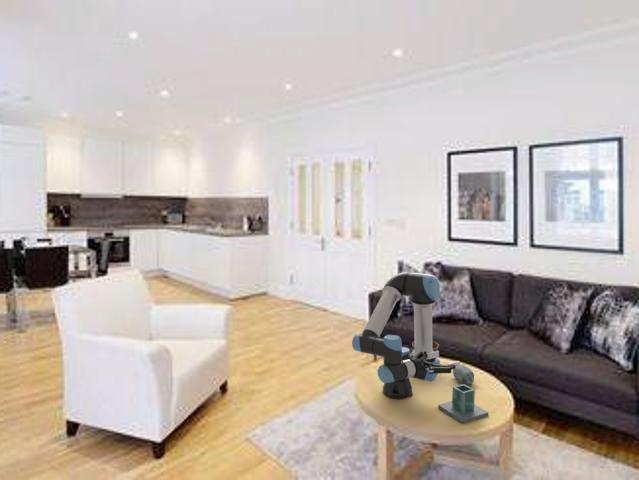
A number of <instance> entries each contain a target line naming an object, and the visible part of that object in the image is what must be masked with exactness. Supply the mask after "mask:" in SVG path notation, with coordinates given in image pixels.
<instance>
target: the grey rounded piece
mask: <svg viewBox="0 0 639 480" xmlns="http://www.w3.org/2000/svg"><path fill="white" fill-rule="evenodd" d="M452 375H453V377H454V378H455V379H456V381H459V382H460V383H462V384H465V385H467V386H468V385H469V386H470V385H472V384H473V383H474V381H475V373H474V372H473V370H472V369H471V368H470V367H468V366H466V365H464V364H460V368H456V369H452Z"/></svg>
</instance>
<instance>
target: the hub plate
mask: <svg viewBox="0 0 639 480" xmlns="http://www.w3.org/2000/svg"><path fill="white" fill-rule="evenodd" d="M437 407H438V408H437V409H440V410H441V411H443V412H444V413H446V414H447V415H449V416H450V417H451V418H453V419H454V420H456V421H457V422H459V423H461V424H465V423H469V422H471V421H476V420H478V419H481V418H484V417H488V416H489V412H488V411H487V410H485V409H484V408H482V407H481V406H479V405H477V404H475V403H474V410H473V411H470V412H467V413H461V412H459V411H458V410H456V409H455V408H453V407H452V400H449V401H447V402H443V403H440V404H438V406H437Z"/></svg>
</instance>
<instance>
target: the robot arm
mask: <svg viewBox="0 0 639 480" xmlns="http://www.w3.org/2000/svg"><path fill="white" fill-rule="evenodd" d="M440 290H441V288H440V282H439V279H438V277H437V276H435V275H433V274H428V273H419V272H418V273H417V272H409V271H403V272H399V273H397V274H395V275H394V276H392V277H391V278H390V279H389V280H388V281H387V282H386V283H385V284H384V286H383V288H382V291H381V293H382V294H381V296H380V298H379V300H378V302H377V304H376V306H375V308H374V310H373V312H372V313H371V316H370V318H369V319H368V320H367V321H368V322H367V323H366V325H365V328H364V329H363V331H362V333H356V334H354V336H353V337H352V340H351V346H352V349H353V350H354V351H357V352H359V353H361V354H362V353H363V354H368V355H373V356H377V357H381V358H383V364H381V365H379V366H378V368H377V376H378V379H379V380H380V381H381V382H382V383H383V386H382V393H383V394H384V396H386V397H388V398H391V399H396V400H404V399H408V398H411V396H413V387H412V383H411V380H410V378H413V379H417V380H421V381H424V382H425V381H426V382H431V383H432V382H435V380H437V376H438V374H452V371H453V369H456V368H460V365H461V361H460V360H458V361H454V362H450V363H447V364H441V361H440V358H439V357H440V351H439V350H438V351H435V352H434V351H433V350H432V341H433V305H434V304H436V300H438V299H439V297H440V292H441V291H440ZM404 296H406V297H410V303H412V305H413V323H414V324H413V326H414V329H413V330H414V333H413V334H414V341H415V350H413V349H412V350H411V351H410V348H408V347H404V346H402V344H403V343H402V338H401V337H400V335H396V334H386V335H385V336H383V338H380V336H381V334H382V332H383V330H384V328H385V326H386V324H387V322H388V320H389V319H390V315H392V311H393V310H394V308H395V306H396V303H397V302H398V301H400V300H401V299H402V297H404Z"/></svg>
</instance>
